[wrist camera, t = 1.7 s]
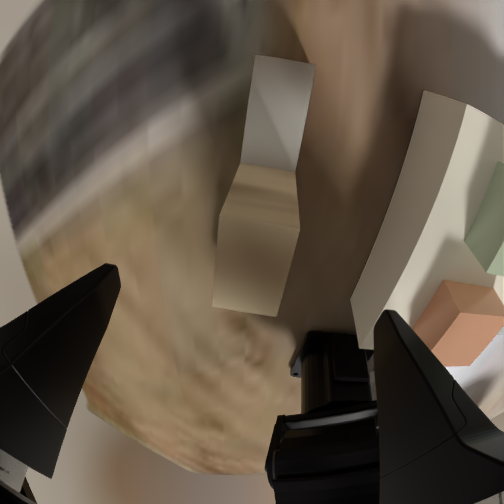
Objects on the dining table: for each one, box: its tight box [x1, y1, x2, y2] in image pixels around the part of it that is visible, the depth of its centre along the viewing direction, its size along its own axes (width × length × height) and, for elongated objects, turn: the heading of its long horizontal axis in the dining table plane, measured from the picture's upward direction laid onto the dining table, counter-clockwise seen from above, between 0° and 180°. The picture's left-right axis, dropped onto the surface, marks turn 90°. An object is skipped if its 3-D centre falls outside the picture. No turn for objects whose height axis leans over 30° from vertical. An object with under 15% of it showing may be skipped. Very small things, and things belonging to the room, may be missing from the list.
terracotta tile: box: [412, 279, 504, 366], centre depth 14 cm, size 4×4×2 cm
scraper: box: [212, 55, 316, 317], centre depth 14 cm, size 14×2×8 cm, turn 172°
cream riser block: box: [350, 90, 504, 350], centre depth 15 cm, size 15×10×4 cm, turn 172°
